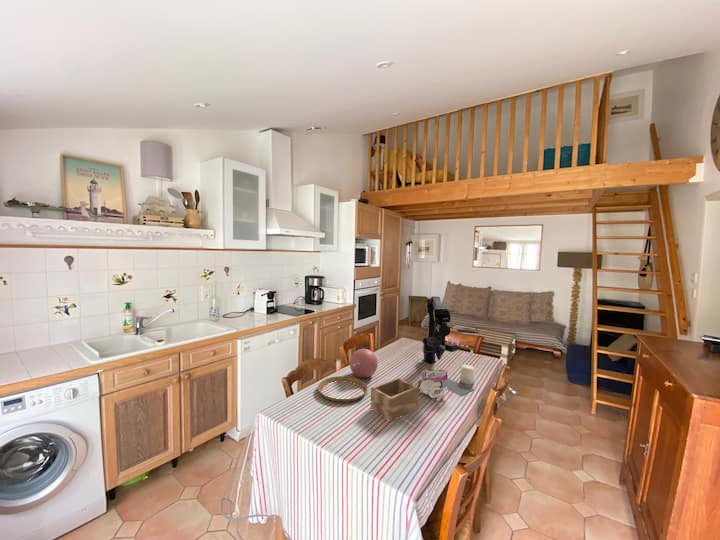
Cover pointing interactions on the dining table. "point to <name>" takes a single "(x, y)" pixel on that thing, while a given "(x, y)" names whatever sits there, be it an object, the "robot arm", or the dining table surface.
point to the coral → (432, 389)
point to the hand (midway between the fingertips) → (438, 359)
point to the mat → (455, 387)
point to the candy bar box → (434, 375)
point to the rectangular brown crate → (394, 398)
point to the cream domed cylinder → (467, 374)
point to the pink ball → (363, 363)
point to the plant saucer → (342, 378)
